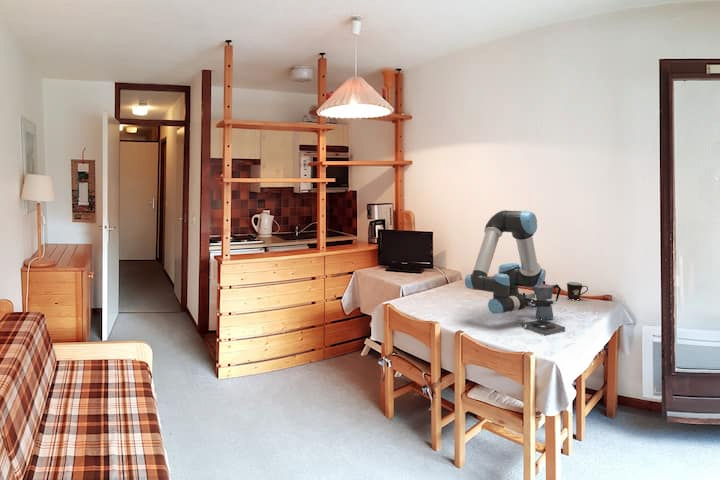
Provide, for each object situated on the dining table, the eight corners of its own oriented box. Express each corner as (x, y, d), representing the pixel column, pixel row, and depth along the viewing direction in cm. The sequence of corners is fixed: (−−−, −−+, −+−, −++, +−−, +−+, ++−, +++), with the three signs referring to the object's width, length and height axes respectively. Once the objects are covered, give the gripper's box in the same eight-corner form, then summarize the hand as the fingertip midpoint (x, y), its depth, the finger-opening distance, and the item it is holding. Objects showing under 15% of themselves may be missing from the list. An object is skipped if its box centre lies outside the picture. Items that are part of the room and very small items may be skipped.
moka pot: (526, 315, 252) (528, 279, 249) (554, 314, 253) (556, 278, 250) (534, 320, 242) (536, 283, 240) (563, 320, 243) (565, 282, 241)
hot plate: (541, 323, 238) (542, 318, 238) (565, 330, 226) (565, 326, 226) (520, 327, 231) (520, 322, 231) (543, 335, 219) (543, 330, 219)
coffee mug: (565, 300, 285) (565, 284, 283) (567, 297, 292) (568, 281, 291) (585, 302, 279) (586, 286, 277) (587, 299, 286) (588, 283, 285)
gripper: (497, 304, 247) (526, 299, 257) (534, 316, 225) (564, 310, 235) (497, 290, 246) (526, 286, 256) (534, 301, 224) (565, 296, 234)
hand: (544, 298), depth 245 cm, fingers open, 13 cm apart
